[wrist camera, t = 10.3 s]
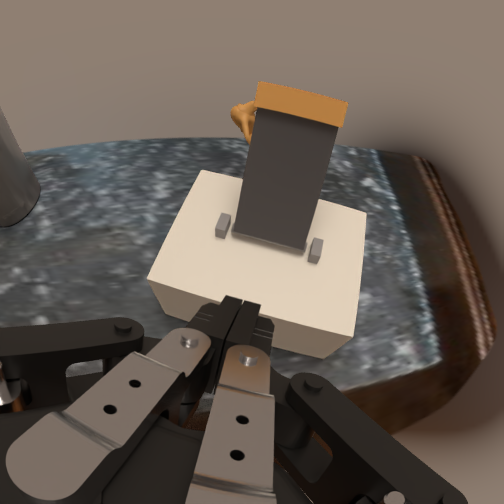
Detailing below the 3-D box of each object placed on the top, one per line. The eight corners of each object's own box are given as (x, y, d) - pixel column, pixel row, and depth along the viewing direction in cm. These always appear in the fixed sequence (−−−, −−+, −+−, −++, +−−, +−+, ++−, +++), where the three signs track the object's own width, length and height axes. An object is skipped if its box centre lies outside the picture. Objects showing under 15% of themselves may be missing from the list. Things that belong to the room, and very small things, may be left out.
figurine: (282, 203, 38) (299, 124, 28) (232, 207, 37) (235, 125, 27) (269, 157, 42) (280, 82, 32) (225, 159, 41) (227, 83, 31)
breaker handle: (304, 257, 24) (348, 102, 18) (228, 237, 24) (258, 81, 18) (305, 245, 26) (345, 102, 20) (234, 227, 26) (263, 82, 20)
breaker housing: (323, 359, 29) (358, 332, 21) (165, 313, 30) (143, 271, 22) (341, 255, 35) (370, 205, 27) (205, 219, 36) (200, 160, 28)
